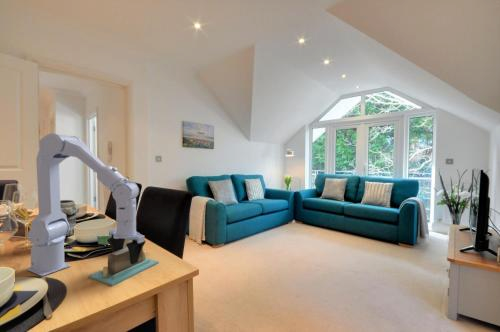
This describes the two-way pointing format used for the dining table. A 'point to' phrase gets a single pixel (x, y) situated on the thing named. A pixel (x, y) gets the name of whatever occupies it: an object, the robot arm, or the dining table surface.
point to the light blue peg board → (123, 272)
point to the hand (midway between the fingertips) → (126, 260)
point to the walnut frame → (121, 261)
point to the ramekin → (103, 239)
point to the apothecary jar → (69, 216)
